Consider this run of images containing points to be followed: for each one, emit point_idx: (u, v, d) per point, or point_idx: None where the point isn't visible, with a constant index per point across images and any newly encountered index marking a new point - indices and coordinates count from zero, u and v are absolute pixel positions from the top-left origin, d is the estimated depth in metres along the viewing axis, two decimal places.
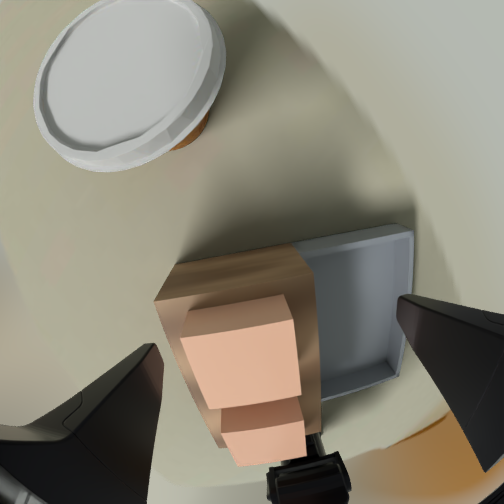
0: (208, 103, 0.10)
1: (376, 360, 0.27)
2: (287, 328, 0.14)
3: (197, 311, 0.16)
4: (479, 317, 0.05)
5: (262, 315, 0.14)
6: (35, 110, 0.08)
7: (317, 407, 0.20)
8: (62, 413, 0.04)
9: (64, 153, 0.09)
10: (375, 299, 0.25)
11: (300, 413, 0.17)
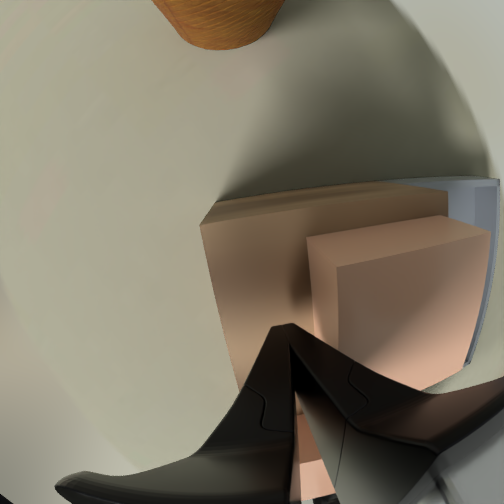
0: None
1: None
2: (484, 247, 0.06)
3: (327, 235, 0.09)
4: (339, 372, 0.05)
5: (446, 230, 0.07)
6: None
7: None
8: (247, 416, 0.04)
9: None
10: None
11: None
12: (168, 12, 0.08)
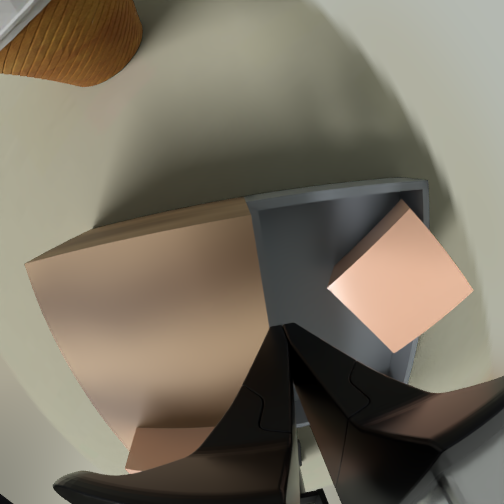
0: None
1: None
2: None
3: (466, 280, 0.11)
4: (341, 372, 0.05)
5: None
6: None
7: None
8: (245, 416, 0.04)
9: None
10: None
11: None
12: None
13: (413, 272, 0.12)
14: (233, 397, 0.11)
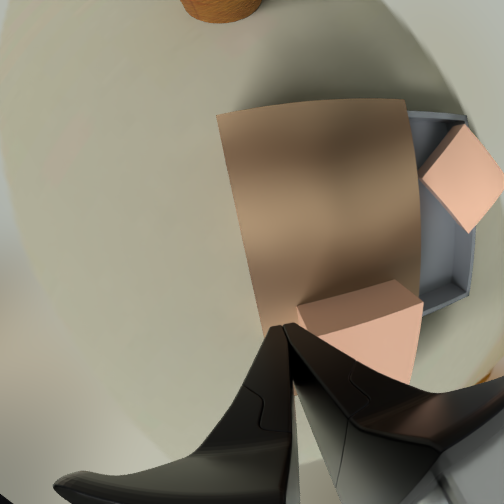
0: None
1: (442, 279, 0.22)
2: None
3: None
4: (341, 372, 0.05)
5: None
6: None
7: None
8: (245, 416, 0.04)
9: None
10: None
11: (414, 296, 0.12)
12: None
13: (472, 166, 0.14)
14: (393, 243, 0.13)
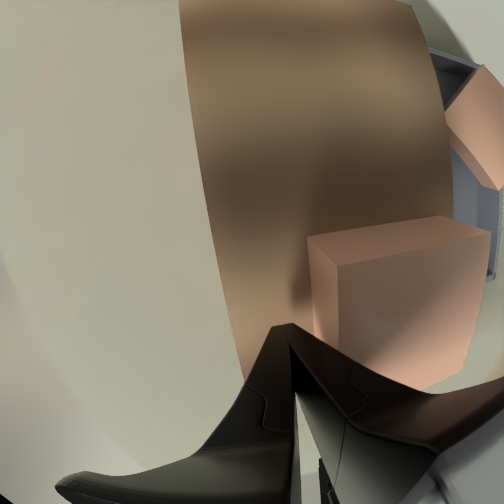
0: None
1: None
2: None
3: None
4: (339, 372, 0.05)
5: None
6: None
7: None
8: (247, 416, 0.04)
9: None
10: None
11: (475, 227, 0.07)
12: None
13: (497, 110, 0.09)
14: (417, 164, 0.09)
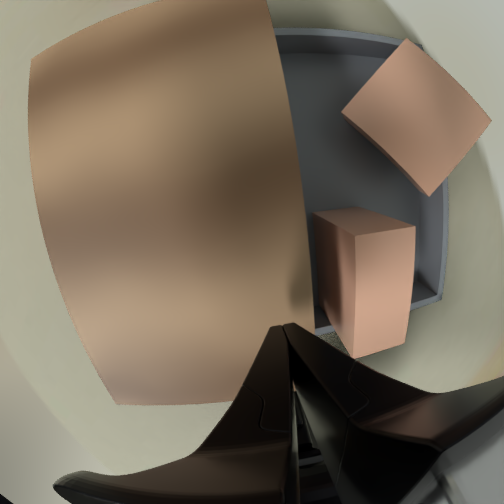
0: None
1: None
2: None
3: (481, 111, 0.08)
4: (341, 372, 0.05)
5: None
6: None
7: (305, 309, 0.10)
8: (245, 416, 0.04)
9: None
10: None
11: (348, 208, 0.15)
12: None
13: (426, 93, 0.09)
14: (236, 182, 0.08)
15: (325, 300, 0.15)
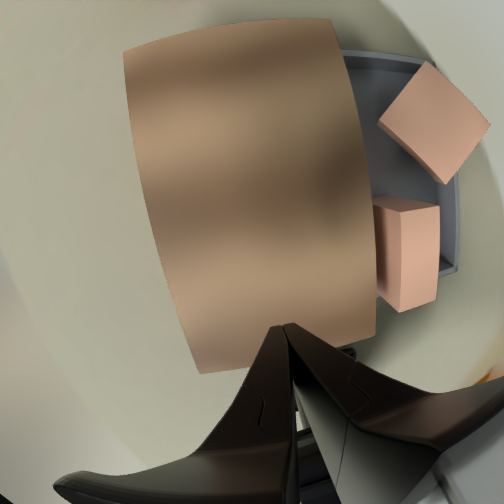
0: None
1: None
2: None
3: (483, 117, 0.11)
4: (341, 372, 0.05)
5: None
6: None
7: (370, 267, 0.13)
8: (245, 416, 0.04)
9: None
10: None
11: (381, 196, 0.18)
12: None
13: (441, 105, 0.12)
14: (326, 170, 0.11)
15: None
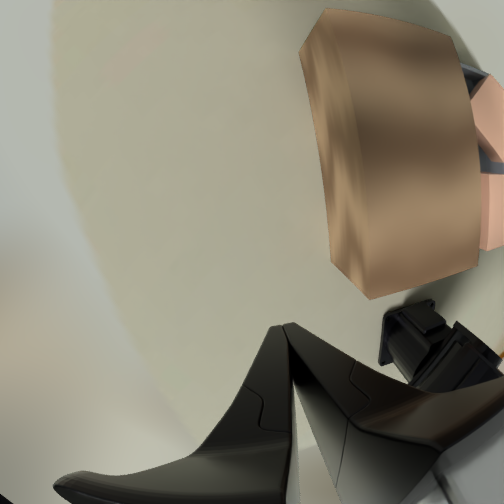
0: None
1: None
2: None
3: None
4: (341, 372, 0.05)
5: None
6: None
7: (479, 208, 0.13)
8: (245, 416, 0.04)
9: None
10: None
11: None
12: None
13: (500, 106, 0.13)
14: (459, 136, 0.12)
15: None
